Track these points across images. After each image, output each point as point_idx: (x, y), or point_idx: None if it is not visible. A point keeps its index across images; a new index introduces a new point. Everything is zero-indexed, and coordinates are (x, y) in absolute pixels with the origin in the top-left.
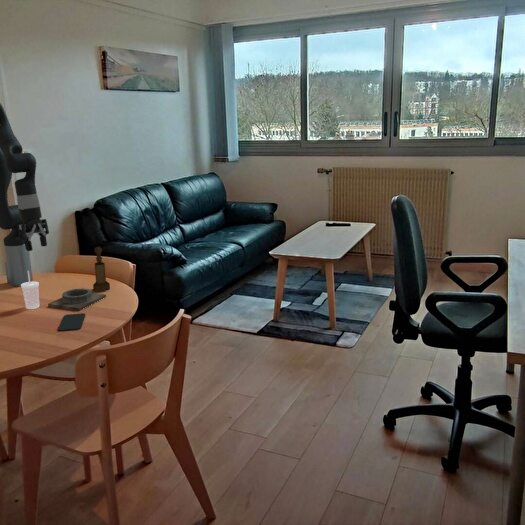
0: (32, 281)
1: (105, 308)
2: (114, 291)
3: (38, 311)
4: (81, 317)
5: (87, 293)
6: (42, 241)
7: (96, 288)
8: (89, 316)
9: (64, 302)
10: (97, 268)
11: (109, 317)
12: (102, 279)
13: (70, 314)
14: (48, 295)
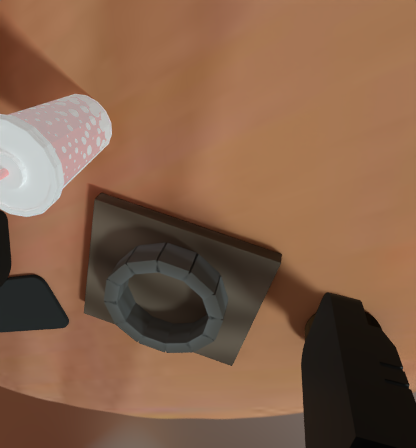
0: (52, 164)
1: (129, 363)
2: None
3: None
4: (35, 324)
5: (159, 343)
6: (322, 382)
7: (307, 332)
8: (58, 336)
9: (123, 256)
10: None
11: (68, 376)
12: None
13: (46, 292)
14: (256, 127)
